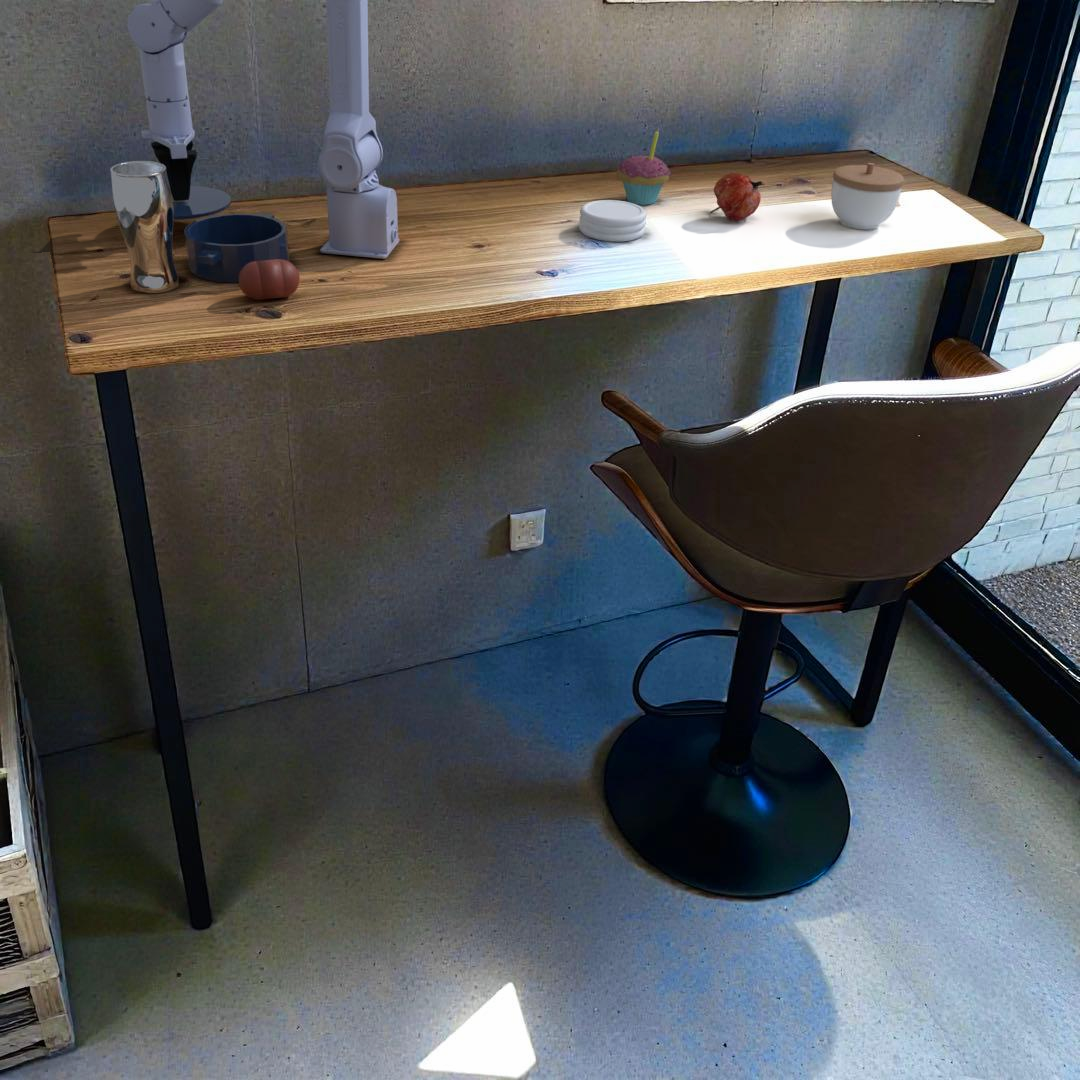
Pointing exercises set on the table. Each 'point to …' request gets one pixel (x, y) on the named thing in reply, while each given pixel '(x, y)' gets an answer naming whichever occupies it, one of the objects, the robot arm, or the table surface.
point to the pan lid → (201, 203)
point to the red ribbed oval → (268, 279)
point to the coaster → (612, 220)
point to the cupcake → (643, 176)
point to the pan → (233, 244)
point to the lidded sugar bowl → (865, 195)
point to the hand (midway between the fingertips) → (180, 196)
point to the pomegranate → (737, 196)
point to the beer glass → (146, 223)
